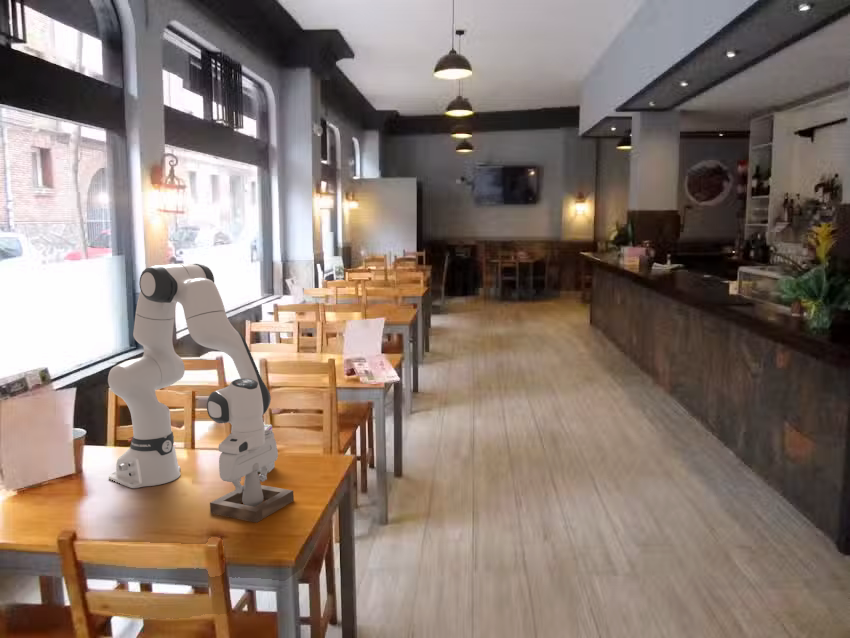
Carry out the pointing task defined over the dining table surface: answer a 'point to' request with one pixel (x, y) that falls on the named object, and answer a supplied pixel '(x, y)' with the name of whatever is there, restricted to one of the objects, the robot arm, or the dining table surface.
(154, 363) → the robot arm
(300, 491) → the dining table surface
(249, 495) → the salt shaker
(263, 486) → the walnut socket
